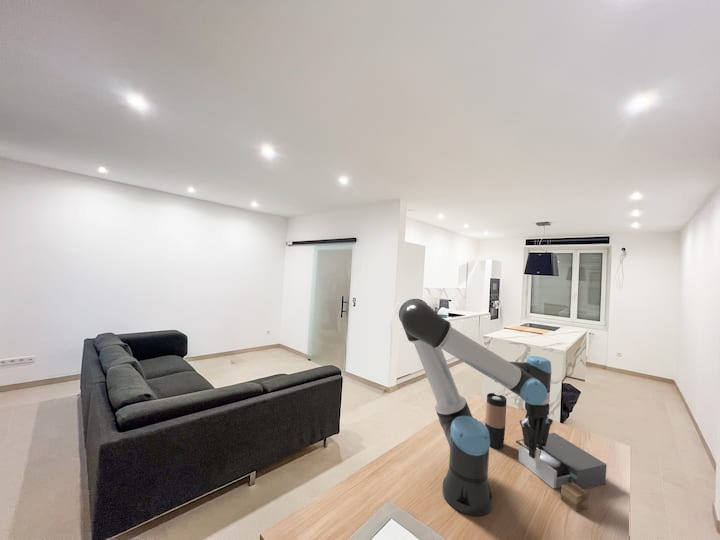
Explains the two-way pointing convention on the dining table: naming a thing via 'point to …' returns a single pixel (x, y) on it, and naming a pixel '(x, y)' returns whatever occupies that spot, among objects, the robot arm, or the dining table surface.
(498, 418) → the travel mug
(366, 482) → the dining table surface
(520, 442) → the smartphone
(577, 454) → the box
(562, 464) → the light grey drawer
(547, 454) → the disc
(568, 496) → the walnut block
